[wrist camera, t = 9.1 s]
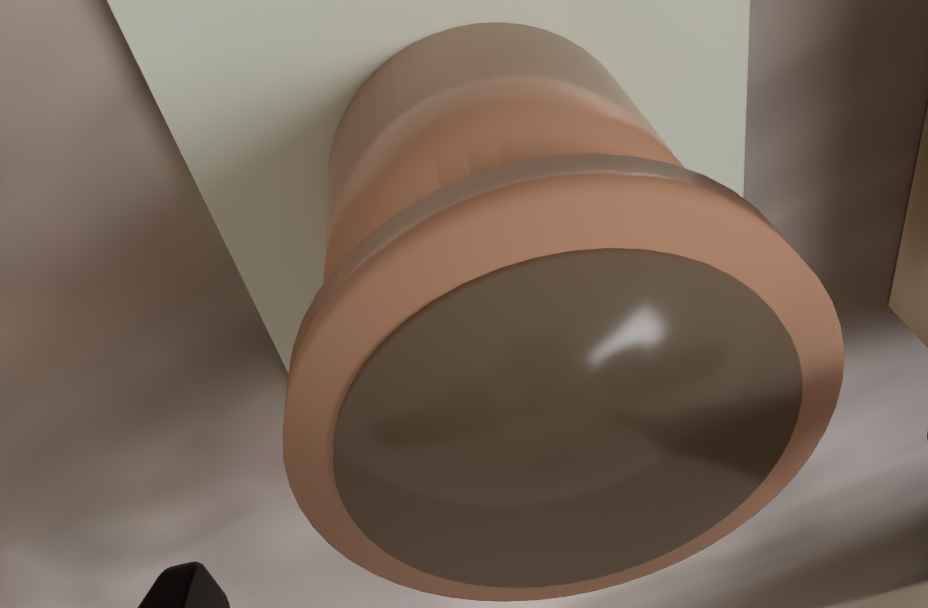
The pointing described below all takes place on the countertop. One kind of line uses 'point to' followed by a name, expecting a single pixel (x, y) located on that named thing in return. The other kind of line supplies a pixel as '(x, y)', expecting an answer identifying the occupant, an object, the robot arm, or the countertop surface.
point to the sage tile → (348, 67)
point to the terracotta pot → (541, 333)
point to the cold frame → (914, 252)
